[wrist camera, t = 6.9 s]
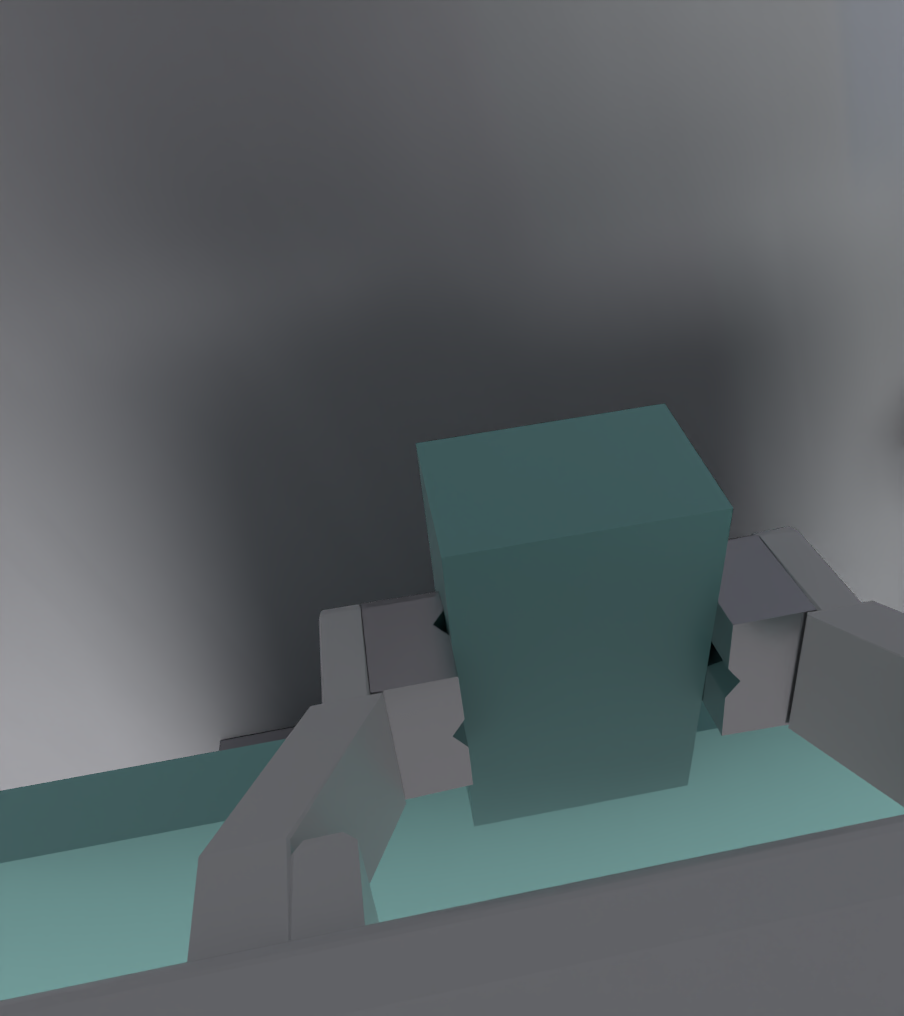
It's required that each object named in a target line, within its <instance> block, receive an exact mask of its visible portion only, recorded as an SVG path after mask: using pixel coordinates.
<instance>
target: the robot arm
mask: <svg viewBox="0 0 904 1016" xmlns="http://www.w3.org/2000/svg"><path fill="white" fill-rule="evenodd" d="M319 634H320V661H321V687H322V704H318V705H313V706H310V707H309V709H308V710H307V711H306V713H305V714H304V715H303V717H302V718H301V719H300V721H299V722H298V723H297V725H296V726H295V727H294V729H293V730H292V732H291V733H290V734H289V736H288V737H287V738H286V740H285V741H284V742H283V744H282V745H281V746H280V748H279V749H278V750H277V752H276V753H275V754H274V756H273V757H272V759H271V760H270V761H269V763H268V764H267V765H266V767H265V768H264V769H263V771H262V772H261V773H260V775H259V776H258V777H257V779H256V780H255V781H254V783H253V784H252V786H251V787H250V788H249V790H248V791H247V792H246V794H245V795H244V796H243V798H242V799H241V800H240V802H239V803H238V804H237V806H236V807H235V808H234V810H233V811H232V813H231V814H230V815H229V817H228V818H227V819H226V821H225V822H224V823H223V825H222V826H221V827H220V829H219V830H218V831H217V833H216V834H215V835H214V837H213V838H212V840H211V841H210V842H209V844H208V845H207V846H206V848H205V849H204V850H203V852H202V853H201V854H200V856H199V858H198V867H197V876H196V885H195V894H194V903H193V912H192V922H191V931H190V940H189V949H188V958H187V962H184V963H180V964H175V965H170V966H165V967H160V968H155V969H150V970H146V971H141V972H136V973H131V974H126V975H121V976H116V977H112V978H107V979H102V980H97V981H92V982H87V983H83V984H78V985H73V986H68V987H63V988H58V989H53V990H49V991H44V992H39V993H34V994H29V995H24V996H20V997H15V998H10V999H5V1000H0V1016H904V814H903V815H898V816H893V817H888V818H883V819H878V820H874V821H869V822H864V823H859V824H854V825H849V826H844V827H840V828H835V829H830V830H825V831H820V832H815V833H810V834H806V835H801V836H796V837H791V838H786V839H781V840H776V841H772V842H767V843H762V844H757V845H752V846H747V847H742V848H738V849H733V850H728V851H723V852H718V853H713V854H708V855H704V856H699V857H694V858H689V859H684V860H679V861H674V862H670V863H665V864H660V865H655V866H650V867H645V868H640V869H636V870H631V871H626V872H621V873H616V874H611V875H607V876H602V877H597V878H592V879H587V880H582V881H577V882H573V883H568V884H563V885H558V886H553V887H548V888H543V889H539V890H534V891H529V892H524V893H519V894H514V895H509V896H505V897H500V898H495V899H490V900H485V901H480V902H475V903H471V904H466V905H461V906H456V907H451V908H446V909H442V910H437V911H432V912H427V913H422V914H417V915H412V916H408V917H403V918H398V919H393V920H388V921H383V922H379V919H378V915H377V911H376V908H375V904H374V900H373V896H372V892H371V889H370V885H369V884H370V882H371V880H372V878H373V875H374V873H375V871H376V869H377V867H378V864H379V862H380V860H381V858H382V856H383V853H384V851H385V849H386V847H387V845H388V842H389V840H390V838H391V836H392V834H393V832H394V829H395V827H396V825H397V823H398V821H399V818H400V816H401V814H402V812H403V810H404V807H405V805H406V801H405V800H407V799H411V798H416V797H420V796H425V795H429V794H434V793H438V792H442V791H447V790H451V789H456V788H460V787H465V786H469V785H473V779H472V771H471V763H470V755H469V747H468V742H467V738H466V733H465V728H464V723H463V721H464V719H465V718H464V711H463V705H462V698H461V692H460V685H459V678H458V673H457V669H456V664H455V659H454V655H453V650H452V645H451V641H450V636H449V635H448V634H447V631H446V623H445V616H444V609H443V605H442V601H441V597H440V593H439V591H436V592H430V593H424V594H417V595H411V596H405V597H398V598H392V599H386V600H379V601H373V602H366V603H362V607H361V605H359V604H357V605H351V606H345V607H339V608H332V609H326V610H321V613H320V616H319ZM702 701H703V703H704V705H705V707H706V708H707V710H708V712H709V714H710V716H711V717H712V719H713V721H714V723H715V725H716V726H717V728H718V730H719V732H720V734H721V735H722V736H724V735H730V734H736V733H742V732H748V731H754V730H760V729H766V728H772V727H778V726H784V725H789V726H788V728H789V729H790V730H792V731H793V732H795V733H796V734H798V735H799V736H801V737H802V738H804V739H805V740H806V741H808V742H809V743H811V744H812V745H814V746H815V747H817V748H818V749H820V750H821V751H823V752H824V753H825V754H827V755H828V756H830V757H831V758H833V759H834V760H836V761H837V762H839V763H840V764H841V765H843V766H844V767H846V768H847V769H849V770H850V771H852V772H853V773H855V774H856V775H858V776H859V777H860V778H862V779H863V780H865V781H866V782H868V783H869V784H871V785H872V786H874V787H875V788H876V789H878V790H879V791H881V792H882V793H884V794H885V795H887V796H888V797H890V798H891V799H892V800H894V801H895V802H897V803H898V804H900V805H901V806H903V807H904V613H902V612H899V611H897V610H894V609H892V608H889V607H887V606H884V605H882V604H880V603H877V602H875V601H869V602H863V603H861V602H860V600H859V599H858V598H857V597H856V596H855V595H854V594H853V593H852V591H851V590H850V589H849V588H848V587H847V586H846V585H845V583H844V582H843V581H842V580H841V579H840V578H839V577H838V575H837V574H836V573H835V572H834V571H833V570H832V569H831V568H830V566H829V565H828V564H827V563H826V562H825V561H824V560H823V558H822V557H821V556H820V555H819V554H818V553H817V552H816V551H815V549H814V548H813V547H812V546H811V545H810V544H809V543H808V541H807V540H806V539H805V538H804V537H803V536H802V535H801V534H800V532H799V531H798V530H797V529H794V528H792V527H790V526H787V527H782V528H778V529H773V530H768V531H763V532H758V533H753V534H751V535H749V536H743V537H737V538H732V539H728V543H727V550H726V556H725V562H724V568H723V574H722V580H721V586H720V592H719V598H718V604H717V610H716V616H715V622H714V628H713V634H712V640H711V647H710V653H709V659H708V665H707V671H706V677H705V684H704V690H703V696H702Z"/></svg>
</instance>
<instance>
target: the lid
mask: <svg viewBox="0 0 904 1016" xmlns="http://www.w3.org/2000/svg"><path fill="white" fill-rule="evenodd" d="M416 449H417V457H418V464H419V472H420V479H421V487H422V494H423V502H424V509H425V517H426V524H427V532H428V539H429V547H430V554H431V562H432V569H433V577H434V584H435V592H436V591H439V593H440V597H441V601H442V605H443V609H444V616H445V623H446V631H447V634H448V635H449V636H450V641H451V645H452V650H453V655H454V659H455V664H456V669H457V673H458V678H459V685H460V692H461V698H462V705H463V711H464V718H465V719H464V721H463V723H464V728H465V733H466V738H467V742H468V747H469V755H470V763H471V771H472V779H473V785H469V786H465V787H460V788H456V789H451V790H447V791H442V792H438V793H434V794H429V795H425V796H420V797H416V798H411V799H407V800H405V801H406V805H405V807H404V810H403V812H402V814H401V816H400V818H399V821H398V823H397V825H396V827H395V829H394V832H393V834H392V836H391V838H390V840H389V842H388V845H387V847H386V849H385V851H384V853H383V856H382V858H381V860H380V862H379V864H378V867H377V869H376V871H375V873H374V875H373V878H372V880H371V882H370V884H369V885H370V889H371V892H372V896H373V900H374V904H375V908H376V911H377V915H378V919H379V922H383V921H388V920H393V919H398V918H403V917H408V916H412V915H417V914H422V913H427V912H432V911H437V910H442V909H446V908H451V907H456V906H461V905H466V904H471V903H475V902H480V901H485V900H490V899H495V898H500V897H505V896H509V895H514V894H519V893H524V892H529V891H534V890H539V889H543V888H548V887H553V886H558V885H563V884H568V883H573V882H577V881H582V880H587V879H592V878H597V877H602V876H607V875H611V874H616V873H621V872H626V871H631V870H636V869H640V868H645V867H650V866H655V865H660V864H665V863H670V862H674V861H679V860H684V859H689V858H694V857H699V856H704V855H708V854H713V853H718V852H723V851H728V850H733V849H738V848H742V847H747V846H752V845H757V844H762V843H767V842H772V841H776V840H781V839H786V838H791V837H796V836H801V835H806V834H810V833H815V832H820V831H825V830H830V829H835V828H840V827H844V826H849V825H854V824H859V823H864V822H869V821H874V820H878V819H883V818H888V817H893V816H898V815H903V814H904V807H903V806H901V805H900V804H898V803H897V802H895V801H894V800H892V799H891V798H890V797H888V796H887V795H885V794H884V793H882V792H881V791H879V790H878V789H876V788H875V787H874V786H872V785H871V784H869V783H868V782H866V781H865V780H863V779H862V778H860V777H859V776H858V775H856V774H855V773H853V772H852V771H850V770H849V769H847V768H846V767H844V766H843V765H841V764H840V763H839V762H837V761H836V760H834V759H833V758H831V757H830V756H828V755H827V754H825V753H824V752H823V751H821V750H820V749H818V748H817V747H815V746H814V745H812V744H811V743H809V742H808V741H806V740H805V739H804V738H802V737H801V736H799V735H798V734H796V733H795V732H793V731H792V730H790V729H789V728H788V726H789V725H784V726H778V727H772V728H766V729H760V730H754V731H748V732H742V733H736V734H730V735H724V736H722V735H721V734H720V732H719V730H718V728H717V726H716V725H715V723H714V721H713V719H712V717H711V716H710V714H709V712H708V710H707V708H706V707H705V705H704V703H703V701H702V696H703V690H704V684H705V677H706V671H707V665H708V659H709V653H710V647H711V640H712V634H713V628H714V622H715V616H716V610H717V604H718V598H719V592H720V586H721V580H722V574H723V568H724V562H725V556H726V550H727V543H728V537H729V531H730V525H731V519H732V513H733V507H732V505H731V504H730V502H729V501H728V499H727V498H726V496H725V495H724V493H723V492H722V490H721V489H720V487H719V485H718V484H717V482H716V481H715V479H714V478H713V476H712V475H711V473H710V472H709V470H708V469H707V467H706V466H705V464H704V463H703V461H702V460H701V458H700V456H699V455H698V453H697V452H696V450H695V449H694V447H693V446H692V444H691V443H690V441H689V440H688V438H687V437H686V435H685V434H684V432H683V430H682V429H681V427H680V426H679V424H678V423H677V421H676V420H675V418H674V417H673V415H672V414H671V412H670V411H669V409H668V408H667V406H666V405H665V403H664V404H658V405H652V406H645V407H639V408H633V409H627V410H620V411H614V412H608V413H602V414H596V415H589V416H583V417H577V418H571V419H564V420H558V421H552V422H546V423H539V424H533V425H527V426H521V427H515V428H508V429H502V430H496V431H490V432H483V433H477V434H471V435H465V436H458V437H452V438H446V439H440V440H434V441H427V442H421V443H416ZM285 740H286V739H282V740H276V741H271V742H266V743H260V744H255V745H249V746H244V747H238V748H233V749H227V750H222V751H216V752H211V753H205V754H200V755H194V756H189V757H183V758H178V759H173V760H167V761H162V762H156V763H151V764H145V765H140V766H134V767H129V768H123V769H118V770H112V771H107V772H101V773H96V774H90V775H85V776H80V777H74V778H69V779H63V780H58V781H52V782H47V783H41V784H36V785H30V786H25V787H19V788H14V789H8V790H3V791H0V1000H5V999H10V998H15V997H20V996H24V995H29V994H34V993H39V992H44V991H49V990H53V989H58V988H63V987H68V986H73V985H78V984H83V983H87V982H92V981H97V980H102V979H107V978H112V977H116V976H121V975H126V974H131V973H136V972H141V971H146V970H150V969H155V968H160V967H165V966H170V965H175V964H180V963H184V962H187V958H188V949H189V940H190V931H191V922H192V912H193V903H194V894H195V885H196V876H197V867H198V858H199V856H200V854H201V853H202V852H203V850H204V849H205V848H206V846H207V845H208V844H209V842H210V841H211V840H212V838H213V837H214V835H215V834H216V833H217V831H218V830H219V829H220V827H221V826H222V825H223V823H224V822H225V821H226V819H227V818H228V817H229V815H230V814H231V813H232V811H233V810H234V808H235V807H236V806H237V804H238V803H239V802H240V800H241V799H242V798H243V796H244V795H245V794H246V792H247V791H248V790H249V788H250V787H251V786H252V784H253V783H254V781H255V780H256V779H257V777H258V776H259V775H260V773H261V772H262V771H263V769H264V768H265V767H266V765H267V764H268V763H269V761H270V760H271V759H272V757H273V756H274V754H275V753H276V752H277V750H278V749H279V748H280V746H281V745H282V744H283V742H284V741H285Z"/></svg>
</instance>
